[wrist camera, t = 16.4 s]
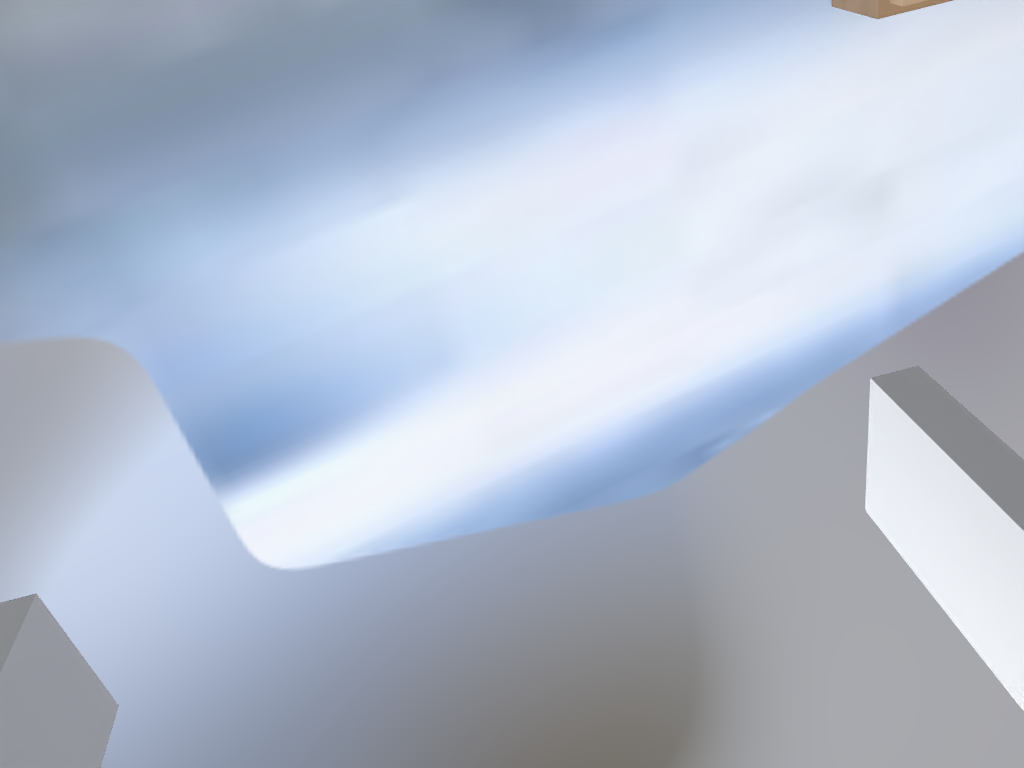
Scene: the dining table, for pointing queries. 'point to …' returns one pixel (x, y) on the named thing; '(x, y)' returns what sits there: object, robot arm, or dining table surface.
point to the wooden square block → (883, 6)
